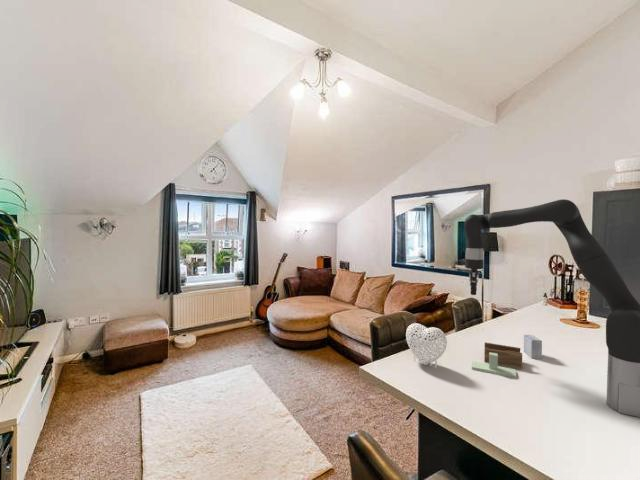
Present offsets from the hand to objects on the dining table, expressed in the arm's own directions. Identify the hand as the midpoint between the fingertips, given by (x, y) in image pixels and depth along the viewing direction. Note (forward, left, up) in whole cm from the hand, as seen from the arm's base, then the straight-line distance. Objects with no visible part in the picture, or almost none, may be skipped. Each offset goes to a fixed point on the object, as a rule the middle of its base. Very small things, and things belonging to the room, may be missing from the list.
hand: (473, 293), depth 138 cm
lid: (-10, -8, -31) cm, 33 cm away
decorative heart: (-18, +18, -30) cm, 40 cm away
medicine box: (+17, -25, -30) cm, 43 cm away
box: (+2, -12, -30) cm, 32 cm away
